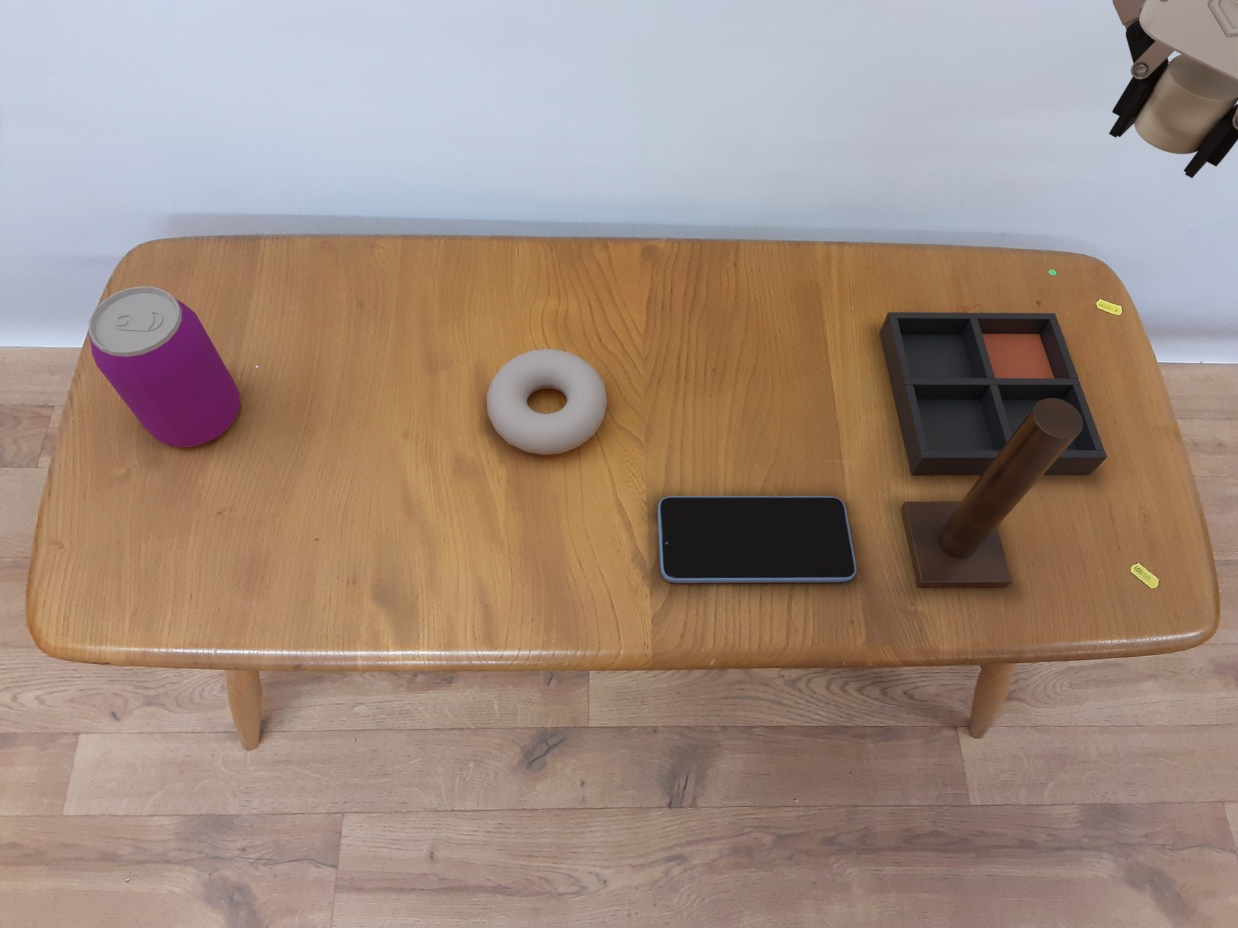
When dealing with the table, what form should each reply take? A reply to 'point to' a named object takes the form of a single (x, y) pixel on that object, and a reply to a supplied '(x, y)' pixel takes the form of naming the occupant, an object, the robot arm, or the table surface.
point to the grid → (980, 387)
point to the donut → (552, 428)
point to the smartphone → (754, 539)
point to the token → (1185, 106)
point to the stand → (987, 505)
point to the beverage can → (163, 366)
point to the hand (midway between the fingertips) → (1160, 144)
